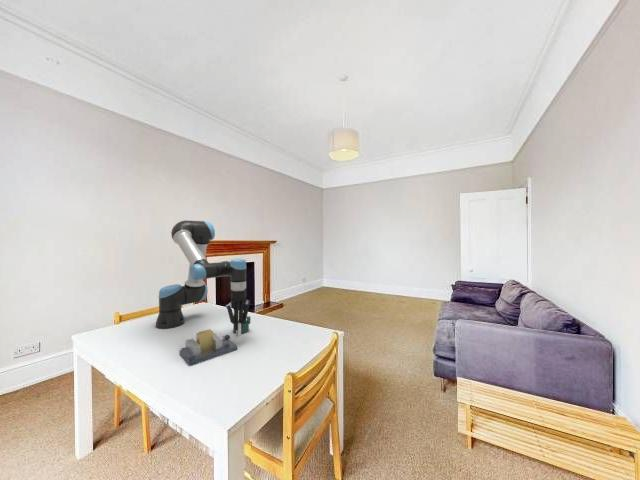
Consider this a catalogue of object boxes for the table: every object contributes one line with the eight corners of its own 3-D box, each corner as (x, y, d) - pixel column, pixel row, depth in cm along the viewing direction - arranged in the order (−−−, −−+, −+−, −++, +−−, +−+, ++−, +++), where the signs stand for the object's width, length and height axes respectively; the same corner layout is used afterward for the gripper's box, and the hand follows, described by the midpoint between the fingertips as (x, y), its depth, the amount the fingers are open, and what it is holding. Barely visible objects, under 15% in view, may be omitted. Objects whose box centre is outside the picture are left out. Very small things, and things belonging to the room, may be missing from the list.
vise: (179, 354, 113) (179, 340, 113) (224, 340, 128) (224, 328, 128) (189, 366, 103) (189, 350, 103) (237, 349, 118) (237, 336, 118)
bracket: (251, 332, 139) (251, 316, 139) (234, 335, 135) (234, 319, 135) (247, 327, 147) (247, 312, 147) (231, 330, 142) (231, 314, 142)
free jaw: (207, 343, 120) (207, 334, 120) (225, 338, 126) (225, 329, 126) (215, 350, 113) (215, 340, 113) (234, 344, 119) (234, 335, 119)
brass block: (196, 349, 114) (196, 332, 113) (209, 345, 118) (209, 329, 118) (199, 352, 111) (199, 335, 111) (213, 348, 115) (213, 331, 115)
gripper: (229, 292, 118) (229, 341, 119) (253, 288, 127) (253, 334, 128) (222, 290, 123) (222, 337, 124) (246, 286, 133) (246, 330, 133)
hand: (238, 335), depth 126 cm, fingers closed
